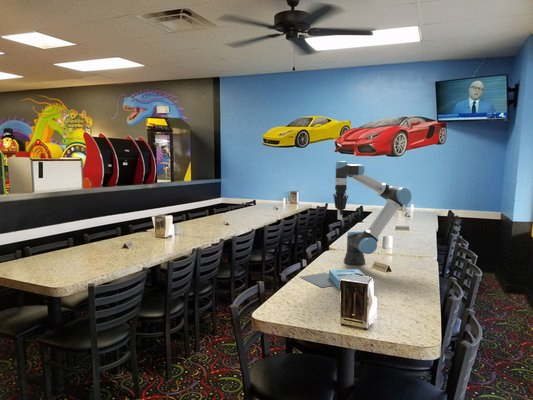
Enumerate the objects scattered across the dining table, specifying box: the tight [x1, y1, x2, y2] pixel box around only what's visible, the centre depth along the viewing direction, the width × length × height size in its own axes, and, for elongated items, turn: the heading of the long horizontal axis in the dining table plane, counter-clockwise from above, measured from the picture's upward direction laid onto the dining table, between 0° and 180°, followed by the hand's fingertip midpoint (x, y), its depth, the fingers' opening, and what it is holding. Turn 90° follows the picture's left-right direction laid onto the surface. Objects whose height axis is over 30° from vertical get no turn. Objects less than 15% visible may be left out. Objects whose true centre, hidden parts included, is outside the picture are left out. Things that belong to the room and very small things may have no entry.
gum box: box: [328, 269, 366, 291], centre depth 229 cm, size 20×5×23 cm
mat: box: [299, 272, 335, 289], centre depth 236 cm, size 20×23×1 cm
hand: (339, 219), depth 257 cm, fingers closed
